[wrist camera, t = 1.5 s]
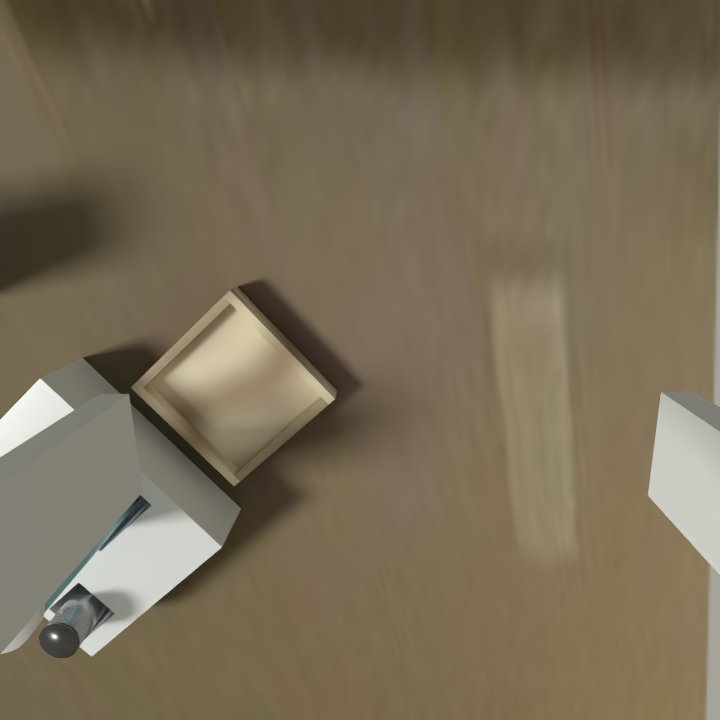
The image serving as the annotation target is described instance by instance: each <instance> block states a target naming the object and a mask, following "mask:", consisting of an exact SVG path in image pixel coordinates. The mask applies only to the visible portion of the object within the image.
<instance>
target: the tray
mask: <svg viewBox="0 0 720 720" xmlns="http://www.w3.org/2000/svg"><path fill="white" fill-rule="evenodd" d="M131 388H132V389H133V390H134V391H135V392H136V393H137V394H138V395H139V396H140V397H141V398H142V399H143V400H144V401H145V402H146V403H147V404H148V405H149V406H150V407H151V408H153V409H154V410H155V411H156V412H157V413H158V414H159V415H160V416H161V417H162V418H163V419H164V420H165V421H166V422H167V423H168V424H169V425H170V426H171V427H172V428H173V429H174V430H176V431H177V432H178V433H179V434H180V435H181V436H182V437H183V438H184V439H185V440H186V441H187V442H188V443H189V444H190V445H191V446H192V447H193V448H194V449H195V450H196V451H197V452H199V453H200V454H201V455H202V456H203V457H204V458H205V459H206V460H207V461H208V462H209V463H210V464H211V465H212V466H213V467H214V468H215V469H216V470H217V471H218V472H219V473H220V474H222V475H223V476H224V477H225V478H226V479H227V480H228V481H229V482H230V483H231V484H232V485H233V486H235V485H236V484H238V483H239V482H240V481H241V480H242V479H243V478H245V477H246V476H247V475H248V474H249V473H250V472H251V471H253V470H254V469H255V468H256V467H257V466H258V465H260V464H261V463H262V462H263V461H264V460H265V459H266V458H268V457H269V456H270V455H271V454H272V453H273V452H275V451H276V450H277V449H278V448H279V447H280V446H281V445H283V444H284V443H285V442H286V441H287V440H288V439H290V438H291V437H292V436H293V435H294V434H295V433H296V432H298V431H299V430H300V429H301V428H302V427H303V426H305V425H306V424H307V423H308V422H309V421H310V420H311V419H313V418H314V417H315V416H316V415H317V414H318V413H320V412H321V411H322V410H323V409H324V408H325V407H326V406H328V405H329V404H330V403H331V402H332V401H333V400H335V397H336V394H337V390H336V389H335V388H334V387H333V386H332V385H331V383H330V382H329V381H328V380H327V379H326V378H325V377H324V376H323V375H322V374H321V373H320V372H319V371H318V370H317V369H316V368H315V367H314V366H313V365H312V364H311V363H310V362H309V361H308V360H307V359H306V357H305V356H304V355H303V354H302V353H301V352H300V351H299V350H298V349H297V348H296V347H295V346H294V345H293V344H292V343H291V342H290V341H289V340H288V339H287V338H286V337H285V336H284V335H283V334H282V333H281V331H280V330H279V329H278V328H277V327H276V326H275V325H274V324H273V323H272V322H271V321H270V320H269V319H268V318H267V317H266V316H265V315H264V314H263V313H262V312H261V311H260V310H259V309H258V308H257V307H256V306H255V304H254V303H253V302H252V301H251V300H250V299H249V298H248V297H247V296H246V295H245V294H244V293H243V292H242V291H241V290H240V289H239V288H238V287H235V288H233V289H231V290H230V291H229V292H228V293H227V294H226V295H225V296H224V297H223V298H222V299H221V300H219V301H218V302H217V303H216V304H215V305H214V306H213V307H212V308H211V309H210V310H209V311H208V312H207V313H206V314H205V315H204V316H203V317H202V318H201V319H200V320H199V321H198V322H197V323H196V324H195V325H194V326H193V327H192V328H191V329H190V330H189V331H188V332H187V333H186V334H185V335H184V336H183V337H182V338H181V339H180V340H179V341H178V342H177V343H176V344H175V345H174V346H173V347H172V348H171V349H170V350H168V351H167V352H166V353H165V354H164V355H163V356H162V357H161V358H160V359H159V360H158V361H157V362H156V363H155V364H154V365H153V366H152V367H151V368H150V369H149V370H148V371H147V372H146V373H145V374H144V375H143V376H142V377H141V378H140V379H139V380H138V381H137V382H136V383H135V384H134V385H133V386H132V387H131Z"/></svg>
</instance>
